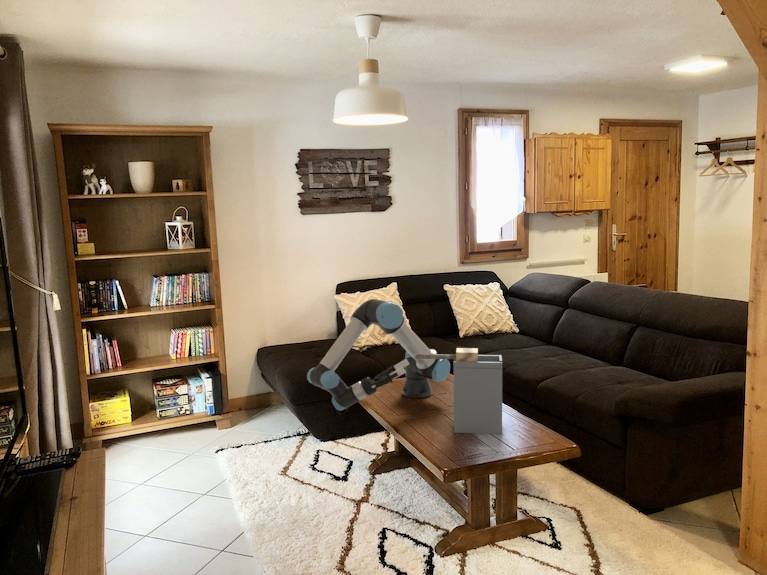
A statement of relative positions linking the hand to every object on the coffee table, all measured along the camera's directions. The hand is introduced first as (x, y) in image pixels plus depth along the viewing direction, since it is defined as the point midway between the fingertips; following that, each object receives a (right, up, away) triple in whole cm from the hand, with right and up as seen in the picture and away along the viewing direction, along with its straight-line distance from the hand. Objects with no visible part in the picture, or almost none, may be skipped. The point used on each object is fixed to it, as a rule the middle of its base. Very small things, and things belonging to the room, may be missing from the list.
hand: (406, 365), depth 267 cm
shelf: (+31, -27, -1) cm, 41 cm away
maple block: (+17, +1, -3) cm, 17 cm away
